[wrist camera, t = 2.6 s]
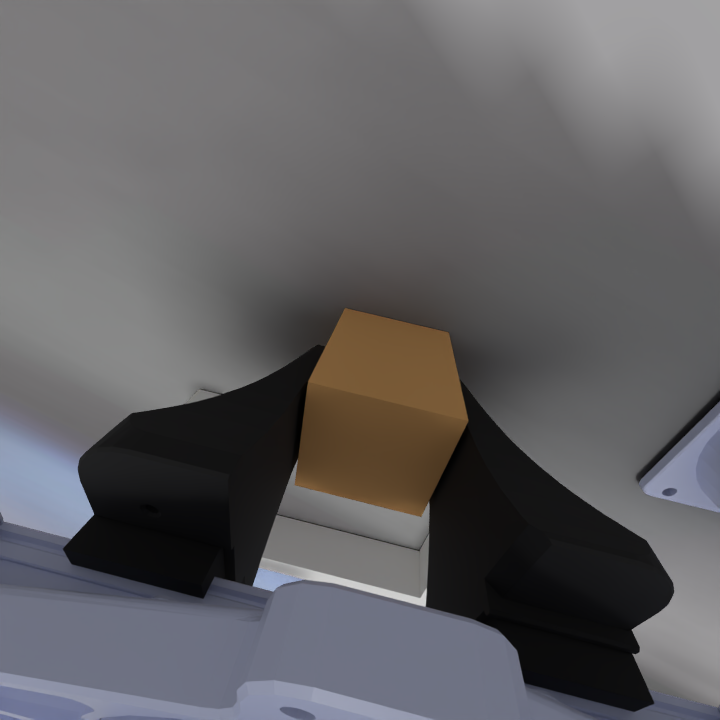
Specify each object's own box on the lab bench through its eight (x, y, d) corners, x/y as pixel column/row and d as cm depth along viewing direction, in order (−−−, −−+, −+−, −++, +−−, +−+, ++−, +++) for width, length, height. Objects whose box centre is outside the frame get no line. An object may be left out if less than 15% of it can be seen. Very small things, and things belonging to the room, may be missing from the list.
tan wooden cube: (448, 332, 12) (468, 420, 8) (418, 412, 14) (421, 516, 10) (345, 307, 12) (307, 382, 8) (330, 390, 14) (294, 485, 10)
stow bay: (496, 462, 15) (540, 614, 10) (432, 566, 20) (438, 702, 15) (197, 388, 15) (87, 498, 10) (209, 509, 20) (140, 623, 15)
